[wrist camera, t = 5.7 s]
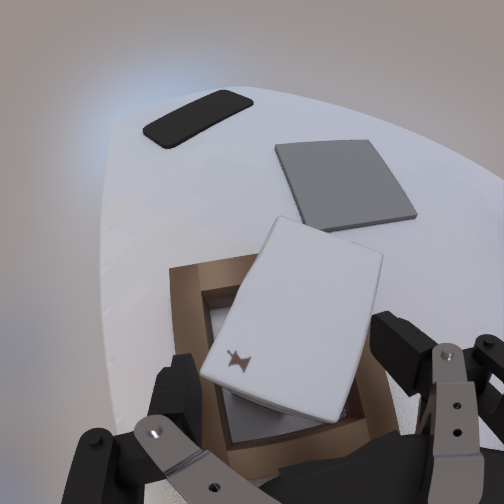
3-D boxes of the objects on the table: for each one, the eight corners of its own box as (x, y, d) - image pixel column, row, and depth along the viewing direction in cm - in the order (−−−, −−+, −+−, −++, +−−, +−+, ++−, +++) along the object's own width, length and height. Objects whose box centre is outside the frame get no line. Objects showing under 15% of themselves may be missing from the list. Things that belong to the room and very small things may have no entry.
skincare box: (288, 415, 16) (336, 432, 6) (230, 392, 17) (190, 375, 7) (319, 337, 19) (388, 250, 9) (265, 316, 20) (274, 209, 10)
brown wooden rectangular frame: (329, 263, 22) (340, 239, 19) (377, 431, 15) (400, 434, 12) (181, 289, 21) (169, 268, 18) (208, 471, 14) (198, 484, 11)
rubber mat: (367, 143, 31) (368, 139, 30) (415, 218, 25) (417, 214, 24) (275, 148, 30) (275, 144, 29) (307, 235, 24) (308, 231, 23)
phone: (257, 101, 35) (167, 148, 30) (257, 106, 36) (169, 153, 30) (222, 88, 38) (139, 129, 32) (223, 92, 39) (140, 133, 33)
